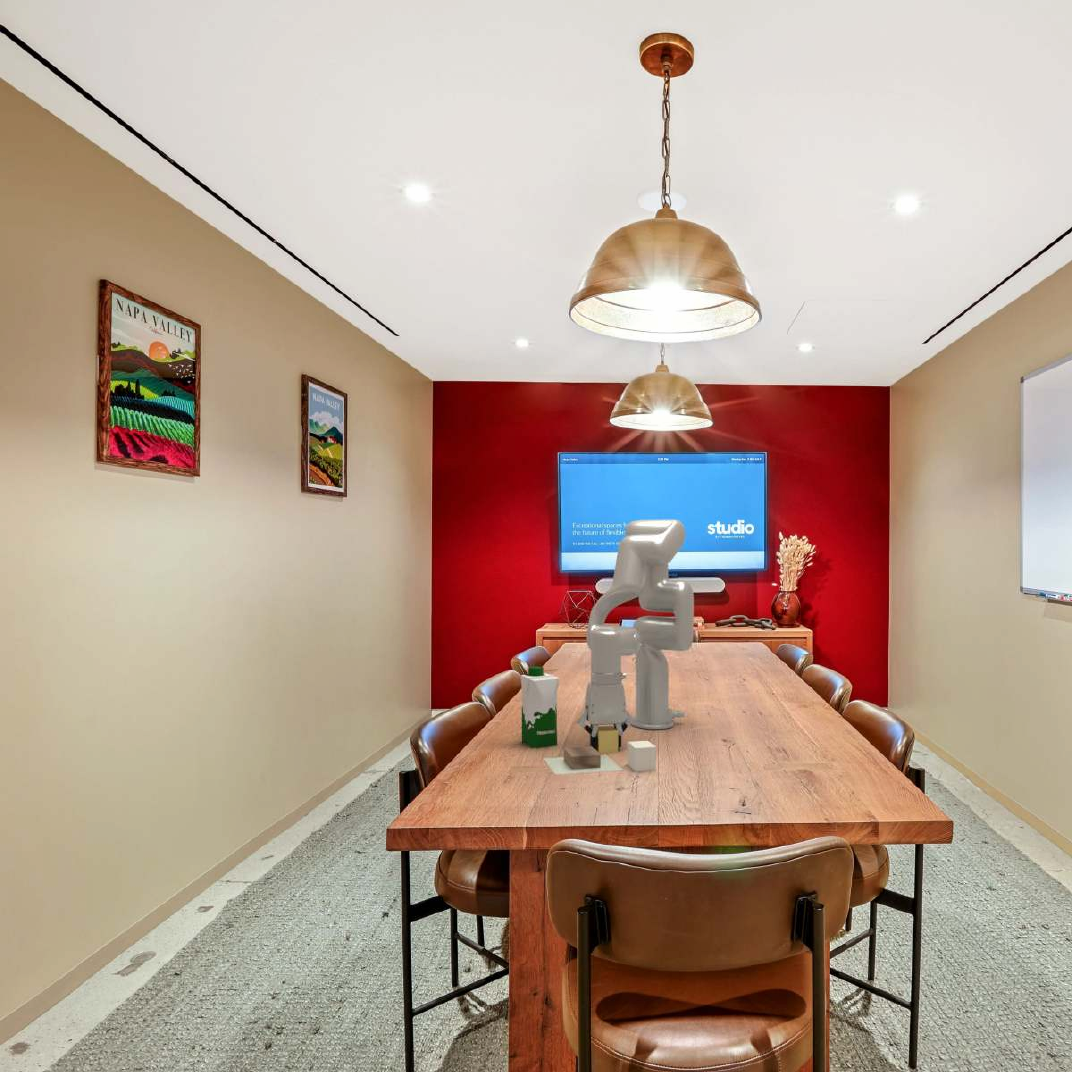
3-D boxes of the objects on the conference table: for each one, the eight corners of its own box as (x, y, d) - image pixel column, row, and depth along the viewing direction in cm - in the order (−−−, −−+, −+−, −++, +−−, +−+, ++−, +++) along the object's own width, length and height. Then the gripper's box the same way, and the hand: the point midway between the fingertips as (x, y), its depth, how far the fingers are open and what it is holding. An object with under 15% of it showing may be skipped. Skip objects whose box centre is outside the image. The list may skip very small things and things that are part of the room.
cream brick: (647, 766, 163) (647, 740, 164) (655, 772, 159) (655, 746, 159) (627, 767, 162) (627, 741, 162) (635, 774, 157) (635, 748, 158)
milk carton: (546, 738, 186) (546, 664, 186) (562, 747, 178) (563, 670, 178) (516, 742, 182) (517, 667, 182) (532, 752, 174) (532, 672, 174)
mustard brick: (611, 749, 177) (611, 725, 177) (618, 755, 172) (618, 730, 172) (593, 750, 176) (593, 726, 176) (599, 756, 171) (599, 732, 171)
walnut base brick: (591, 758, 167) (591, 746, 167) (600, 767, 160) (600, 754, 160) (563, 760, 165) (563, 747, 165) (571, 769, 158) (571, 756, 158)
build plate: (606, 756, 170) (606, 754, 170) (622, 772, 158) (622, 769, 158) (543, 760, 167) (543, 758, 167) (555, 777, 155) (555, 774, 155)
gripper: (632, 674, 180) (632, 744, 179) (569, 676, 176) (569, 748, 176) (643, 680, 172) (642, 753, 172) (577, 682, 169) (577, 757, 168)
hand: (605, 749), depth 174 cm, fingers closed on mustard brick, 5 cm apart
